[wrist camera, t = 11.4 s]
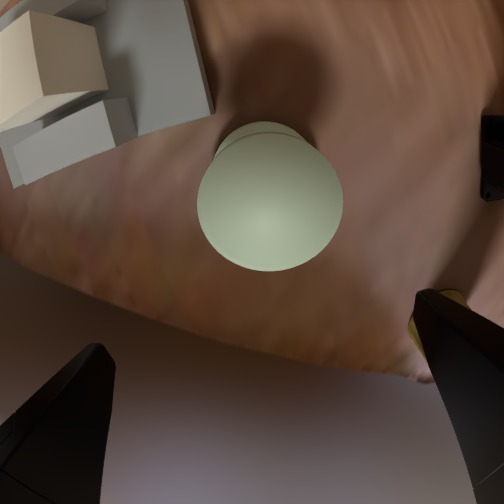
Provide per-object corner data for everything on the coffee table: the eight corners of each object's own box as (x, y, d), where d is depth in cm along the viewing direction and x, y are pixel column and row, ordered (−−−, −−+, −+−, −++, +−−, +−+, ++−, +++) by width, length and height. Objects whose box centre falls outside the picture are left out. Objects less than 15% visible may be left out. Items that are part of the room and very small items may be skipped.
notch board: (179, -35, 11) (158, -69, 7) (215, 112, 16) (202, 120, 12) (0, 58, 13) (-47, 62, 8) (30, 179, 17) (-14, 205, 13)
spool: (306, 113, 16) (333, 123, 11) (321, 208, 19) (347, 257, 14) (202, 133, 17) (179, 154, 11) (226, 226, 19) (218, 281, 14)
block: (94, 27, 11) (29, 10, 6) (108, 89, 13) (43, 96, 8) (39, 58, 12) (-32, 61, 7) (52, 116, 14) (-17, 137, 8)
